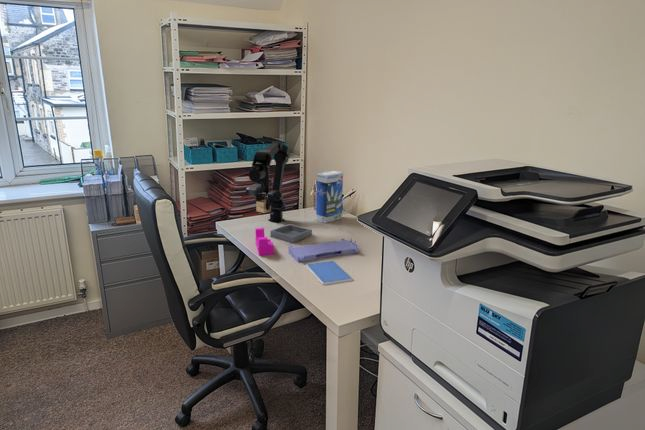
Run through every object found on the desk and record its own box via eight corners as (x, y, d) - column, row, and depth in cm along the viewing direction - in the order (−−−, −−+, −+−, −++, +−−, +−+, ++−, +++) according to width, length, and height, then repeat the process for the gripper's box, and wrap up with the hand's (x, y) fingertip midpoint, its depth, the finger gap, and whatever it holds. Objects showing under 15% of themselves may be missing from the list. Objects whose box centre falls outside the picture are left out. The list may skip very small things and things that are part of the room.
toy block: (273, 255, 184) (273, 238, 182) (259, 256, 183) (258, 239, 181) (269, 243, 198) (269, 227, 196) (255, 243, 197) (255, 228, 194)
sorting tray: (289, 229, 216) (289, 223, 216) (311, 235, 209) (311, 229, 208) (270, 236, 206) (270, 230, 205) (293, 243, 198) (293, 237, 197)
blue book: (305, 266, 175) (305, 263, 174) (333, 262, 179) (333, 259, 179) (322, 286, 157) (322, 283, 157) (353, 281, 162) (354, 278, 162)
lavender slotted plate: (363, 254, 188) (347, 243, 201) (364, 245, 187) (347, 234, 200) (300, 265, 175) (286, 252, 188) (300, 255, 174) (286, 243, 187)
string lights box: (325, 223, 228) (326, 175, 220) (315, 220, 233) (316, 173, 225) (341, 218, 237) (343, 172, 229) (331, 215, 242) (333, 170, 234)
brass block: (263, 209, 215) (263, 199, 213) (271, 211, 212) (270, 201, 211) (256, 211, 211) (256, 201, 210) (263, 213, 208) (263, 203, 207)
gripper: (237, 177, 206) (238, 209, 210) (266, 183, 195) (266, 216, 200) (253, 174, 214) (254, 204, 219) (282, 179, 204) (282, 211, 208)
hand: (263, 209), depth 211 cm, fingers closed on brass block, 5 cm apart
